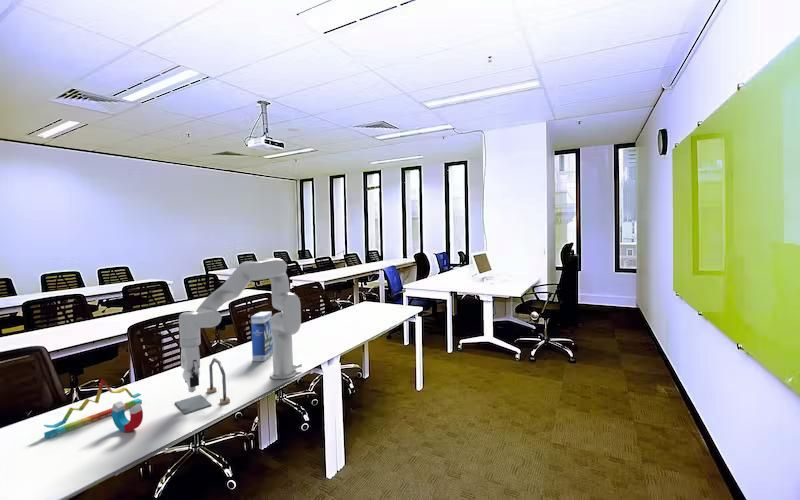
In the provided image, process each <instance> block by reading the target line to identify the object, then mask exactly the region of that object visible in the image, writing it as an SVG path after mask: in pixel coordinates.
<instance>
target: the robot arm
mask: <svg viewBox="0 0 800 500" xmlns="http://www.w3.org/2000/svg"><path fill="white" fill-rule="evenodd" d="M287 265H288V264H287V262H286V261H285V260H284V259H281V258H276V257H275V258H274V257H265V258H262V259H260V261H251V260H249V261H248V260H247V261H243V262H241V263H240V264H239V265H237V267H236V268H235V269H234V271H233V272H232V273H231V274H230V275H229V277H227V279H226V280H225V281H224V283H223V284H222V285H221V286H220V287H218V288H217V289H215V290H214V291H213V292H212V293H211V294H209V295H208V296H207V297H206V298H205V299H204V300H203V301H202V302H201V304H200V305H199V306H198V307H197V308H196V310H195V311H194V310H193V311H185V312H182V313H180V314H179V316H178V326H179V328H178V331H179V348H181V349H180V367H181V368H182V369H183V371H184V370H186V371H187V372H189V371H190V375H191V378H190V387H195V386H196V387H198V386H200V375H199V373H198V372H199V370H200V368H201V356H200V355H201V354H200V347H199V346H200V345H201V343H202V342H201V329H207V328H214V327H217V326H219V324H221V322H222V314H221V313H220V312H219V311H218V310H219V309H220V308H221V306H223V305H224V304H225V303H227V302H229V301H232V300H235V299H237V298H238V297H239V296H240V295H241V294H242V292H244V290H245V289H246V288H247V286H248V285H249V284H250V282H252V281H263V280H269V281H270V285H271V287H270V288H271V304H272V305H271V306H272V307H273V309H275V310H277V311H280V312H276V313H274V314H272V318H271V320H270V328H271V333H272V344H273V345H272V346H273V355H272V362H273V363H272V366H273V367H272V369H273V370H272V371H271V372H270V374H269V375H270V378H271V379H272V380H286V379H290V378H292V377H295V376H296V374H297V369H298V368H301V367H303V365H302V363H301V362H300V363H294V357H293V356H294V355H293V353H294V352H293V336H292V335H296V334H297V333H298V332H299V331H300V328H301V326H302V325H301V324H302V310H301V308H302V307H301V300H300V298H299V296H298V295H297V294H296V293H293V292H290V291H291V290H290V281H289V277H288V274H287V269H288V266H287ZM192 368H194V369H193V370H191V369H192ZM192 371H194V372H193V374H192ZM184 382H185V383H186V384H187V382H186V381H185V380H184Z"/></svg>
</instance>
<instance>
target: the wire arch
mask: <svg viewBox="0 0 800 500" xmlns="http://www.w3.org/2000/svg"><path fill="white" fill-rule="evenodd" d="M214 363H216V364H217V366H218V368H219V371H220V374H221V376H222V377H221V378H222V398H219V403H220V404H221V405H226V404H230V403H231V399H230V398H229V397H228V396H227V383H226V382H227V381H226V373H225V370H224V367H223V365H222V362H221V361H220V360H219V359H217V358H215V357H214V358H212V360H211V362H209V366H208V367H209V368H208V369H209V387H207V388H206V392H207V393H208V394H214V393H216V392H217V387H215V386H214V379H213V378H214V376H213V365H214Z"/></svg>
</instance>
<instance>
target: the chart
mask: <svg viewBox="0 0 800 500" xmlns="http://www.w3.org/2000/svg"><path fill="white" fill-rule="evenodd" d="M104 386H105V387H106V389H107V390H108V392H109V393H111V394H121V393H123V392H124V391H125V392H126V393H127V394H128V396H130V397H131V398H132V399H133V400H130V401H128V402H125V403H124V402H123V403H124V404H125V408H124V411H127V410H129V409H130V408H132V407H133V406H135V405H138V404H141V405H142V403H143V399H141V398H138V397H140V396H142V394H141V393H139V392H136V393H135V394H132V393H131V392H130V390H129V389H128V388H127V387H121V388H119V389H118V390H112V389H111V388H110V386H109V384H108V383H107V381H106V379H103V378H101V379H100V382H99V386H98V389H97V393H96V396H95V400H92V399H90V398H86V399H85V400H84V401H83V402H82V404H81V405H80V406H79V407H77V408H76V407H69V408H68V410H67V412H66V414H65V415H64V417H63V419H62V420H61V421H59V422H56V423H55V424H43V426H44V427H46V428H49V429H50V428H53V429H50V430H48V431H45V432H44V433H43V435H44V437H43V438H45V439H46V440H47V439H48V440H50V439H52V438H55V437H58V436H59V435H63V434H65V433H68V432H71V431H73V430H76V429H79V428H81V427H83V426H86V425H90V424H92V423H94V422H97V421H99V420H102V419H105V418H108V417H112V407H111V408H109V409H105V410H102V411H99V412H97V413H95V414H92V415H88V416H86V417H83V418H80V419H77V420H75V421H72V422H70V423H67V422H68V420H69V418H70V416H71V414H72V413H73V411H79V412H80V411H81V412H82V411H84V409H85V408H86V407H87V405H88V404H89V402H92V403H96V404H99V401H100V398H101V394H102V391H103V387H104ZM66 423H67V424H66Z"/></svg>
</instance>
